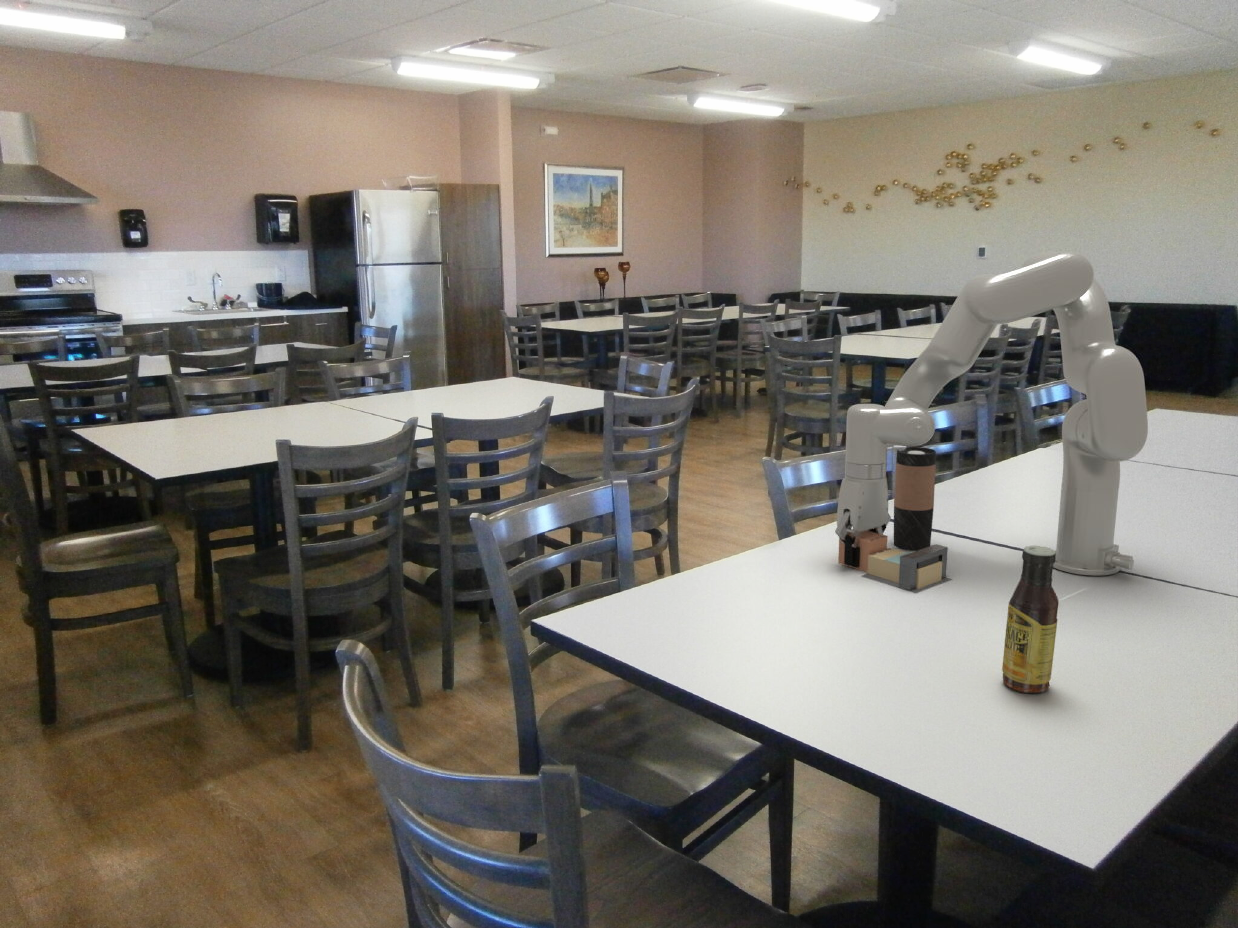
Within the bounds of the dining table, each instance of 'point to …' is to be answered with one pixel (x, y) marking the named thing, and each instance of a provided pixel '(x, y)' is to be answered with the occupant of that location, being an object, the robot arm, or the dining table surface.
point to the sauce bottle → (1031, 624)
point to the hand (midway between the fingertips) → (862, 561)
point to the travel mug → (914, 498)
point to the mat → (898, 583)
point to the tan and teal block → (889, 564)
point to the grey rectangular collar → (920, 564)
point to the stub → (865, 547)
